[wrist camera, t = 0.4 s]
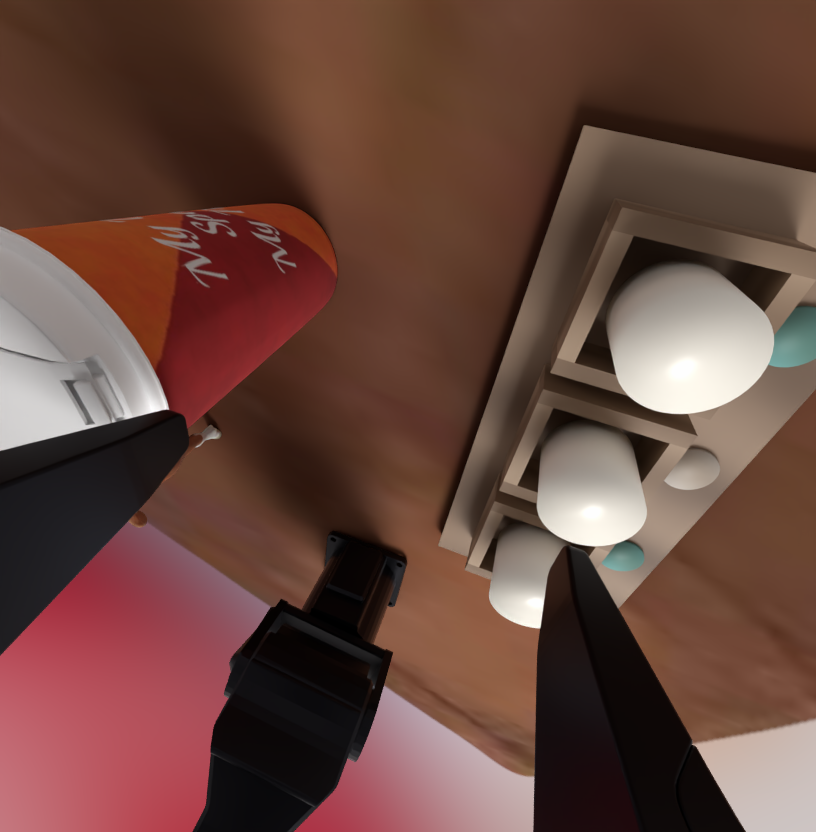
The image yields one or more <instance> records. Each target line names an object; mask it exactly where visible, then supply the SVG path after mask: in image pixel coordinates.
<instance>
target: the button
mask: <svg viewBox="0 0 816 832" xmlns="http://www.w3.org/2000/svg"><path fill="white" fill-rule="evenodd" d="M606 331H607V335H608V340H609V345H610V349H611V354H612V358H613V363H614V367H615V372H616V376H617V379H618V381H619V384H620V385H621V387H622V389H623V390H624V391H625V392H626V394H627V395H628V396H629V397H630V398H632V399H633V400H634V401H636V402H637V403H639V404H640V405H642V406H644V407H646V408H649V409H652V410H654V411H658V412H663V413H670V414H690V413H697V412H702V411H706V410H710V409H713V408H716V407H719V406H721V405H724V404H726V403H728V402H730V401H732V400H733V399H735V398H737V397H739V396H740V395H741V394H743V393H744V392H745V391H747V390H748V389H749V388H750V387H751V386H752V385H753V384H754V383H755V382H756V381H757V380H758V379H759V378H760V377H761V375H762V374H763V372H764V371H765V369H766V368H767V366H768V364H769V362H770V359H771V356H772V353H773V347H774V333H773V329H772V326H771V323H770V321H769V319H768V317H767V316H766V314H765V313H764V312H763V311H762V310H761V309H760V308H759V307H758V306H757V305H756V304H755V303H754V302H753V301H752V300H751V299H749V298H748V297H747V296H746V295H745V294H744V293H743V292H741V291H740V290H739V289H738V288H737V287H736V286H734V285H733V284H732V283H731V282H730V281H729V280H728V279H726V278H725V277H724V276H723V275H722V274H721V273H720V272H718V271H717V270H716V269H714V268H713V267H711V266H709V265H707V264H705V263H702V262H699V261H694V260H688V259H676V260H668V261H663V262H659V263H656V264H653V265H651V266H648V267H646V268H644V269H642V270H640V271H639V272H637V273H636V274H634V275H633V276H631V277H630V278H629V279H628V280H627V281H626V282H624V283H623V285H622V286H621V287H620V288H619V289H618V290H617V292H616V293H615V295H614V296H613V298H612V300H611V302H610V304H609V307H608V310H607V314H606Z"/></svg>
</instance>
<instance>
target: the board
mask: <svg viewBox="0 0 816 832" xmlns="http://www.w3.org/2000/svg"><path fill="white" fill-rule="evenodd" d="M676 259H688V260H694V261H699V262H702V263H705V264H707V265H709V266H711V267H713V268H714V269H716V270H717V271H718V272H720V273H721V274H722V275H723V276H724V277H725V278H726V279H728V280H729V281H730V282H731V283H732V284H733V285H734V286H736V287H737V288H738V289H739V290H740V291H741V292H743V293H744V294H745V295H746V296H747V297H748V298H749V299H751V300H752V301H753V302H754V303H755V304H756V305H757V306H758V307H759V308H760V309H761V310H762V311H763V312H764V313H765V314H766V316H767V317H768V319H769V321H770V323H771V326H772V329H773V333H774V347H773V353H772V356H771V359H770V362H769V364H768V366H767V368H766V369H765V371H764V372H763V374H762V375H761V377H760V378H759V379H758V380H757V381H756V382H755V383H754V384H753V385H752V386H751V387H750V388H749V389H748V390H747V391H745V392H744V393H743V394H741V395H740V396H739V397H737V398H735V399H733V400H732V401H730V402H728V403H726V404H724V405H721V406H719V407H716V408H713V409H710V410H706V411H702V412H697V413H690V414H670V413H663V412H658V411H654V410H652V409H649V408H646V407H644V406H642V405H640V404H639V403H637V402H636V401H634V400H633V399H632V398H630V397H629V396H628V395H627V394H626V392H625V391H624V390H623V389H622V387H621V385H620V384H619V381H618V379H617V376H616V372H615V367H614V363H613V358H612V354H611V349H610V345H609V340H608V335H607V331H606V314H607V310H608V307H609V304H610V302H611V300H612V298H613V296H614V295H615V293H616V292H617V290H618V289H619V288H620V287H621V286H622V285H623V283H624V282H626V281H627V280H628V279H629V278H630V277H631V276H633V275H634V274H636V273H637V272H639V271H640V270H642V269H644V268H646V267H648V266H651V265H653V264H656V263H659V262H663V261H668V260H676ZM815 389H816V173H813V172H808V171H804V170H799V169H794V168H789V167H784V166H779V165H775V164H770V163H765V162H760V161H755V160H751V159H746V158H741V157H736V156H731V155H726V154H722V153H717V152H712V151H707V150H702V149H697V148H693V147H688V146H683V145H678V144H673V143H669V142H664V141H659V140H654V139H649V138H644V137H640V136H635V135H630V134H625V133H620V132H615V131H611V130H606V129H601V128H596V127H591V126H586V125H584V126H583V128H582V131H581V134H580V137H579V139H578V142H577V145H576V148H575V151H574V154H573V157H572V160H571V163H570V165H569V168H568V171H567V174H566V177H565V180H564V183H563V186H562V189H561V191H560V194H559V197H558V200H557V203H556V206H555V209H554V212H553V215H552V217H551V220H550V223H549V226H548V229H547V232H546V235H545V238H544V240H543V243H542V246H541V249H540V252H539V255H538V258H537V261H536V264H535V266H534V269H533V272H532V275H531V278H530V281H529V284H528V287H527V290H526V292H525V295H524V298H523V301H522V304H521V307H520V310H519V313H518V315H517V318H516V321H515V324H514V327H513V330H512V333H511V336H510V339H509V341H508V344H507V347H506V350H505V353H504V356H503V359H502V362H501V365H500V367H499V370H498V373H497V376H496V379H495V382H494V385H493V388H492V390H491V393H490V396H489V399H488V402H487V405H486V408H485V411H484V414H483V416H482V419H481V422H480V425H479V428H478V431H477V434H476V437H475V440H474V442H473V445H472V448H471V451H470V454H469V457H468V460H467V463H466V466H465V468H464V471H463V474H462V477H461V480H460V483H459V486H458V489H457V491H456V494H455V497H454V500H453V503H452V506H451V509H450V512H449V515H448V517H447V520H446V523H445V526H444V529H443V532H442V535H441V538H440V541H439V544H438V546H440V547H443V548H446V549H448V550H451V551H454V552H456V553H459V554H462V555H464V556H467V557H468V558H467V562H466V567H465V570H466V571H469V572H471V573H474V574H477V575H479V576H482V577H485V578H487V579H490V580H491V578H492V572H493V566H494V560H495V554H496V548H497V542H498V537H499V534H500V532H501V531H502V530H503V529H504V528H505V527H507V526H508V525H510V524H513V523H516V522H521V521H523V522H526V523H528V524H531V525H534V526H537V527H540V528H543V529H545V530H548V531H550V530H549V529H548V528H547V527H546V526H545V525H544V524H543V523H542V521H541V519H540V517H539V515H538V511H537V496H538V483H539V469H540V456H541V448H542V444H543V442H544V440H545V439H546V437H547V436H548V435H549V434H550V433H551V432H552V431H553V430H554V429H556V428H557V427H559V426H561V425H563V424H566V423H569V422H572V421H577V420H595V421H598V422H601V423H605V424H608V425H611V426H614V427H616V428H618V429H619V430H621V431H622V432H623V433H624V434H625V435H626V436H627V437H628V438H629V440H630V441H631V443H632V446H633V449H634V453H635V458H636V462H637V467H638V471H639V476H640V480H641V485H642V489H643V494H644V498H645V503H646V508H647V516H646V520H645V522H644V524H643V526H642V527H641V529H640V530H639V531H638V532H637V533H636V534H635V535H633V536H632V537H630V538H628V539H627V540H624V541H622V542H619V543H616V544H612V545H606V546H586V545H580V544H575V543H572V542H570V544H571V546H572V547H575V548H578V549H581V550H583V551H585V552H586V553H587V554H588V556H589V558H590V559H591V561H592V563H593V565H594V566H595V568H596V570H597V572H598V574H599V575H600V577H601V579H602V581H603V582H604V584H605V586H606V588H607V590H608V591H609V593H610V595H611V597H612V598H613V600H614V602H615V604H616V606H617V607H618V608H619V607H620V606H621V605H622V604H623V603H624V602H625V600H626V599H627V598H628V597H629V596H630V595H631V594H632V593H633V592H634V590H635V589H636V588H637V587H638V586H639V585H640V584H641V583H642V582H643V580H644V579H645V578H646V577H647V576H648V575H649V574H650V573H651V572H652V570H653V569H654V568H655V567H656V566H657V565H658V564H659V563H660V562H661V560H662V559H663V558H664V557H665V556H666V555H667V554H668V553H669V552H670V550H671V549H672V548H673V547H674V546H675V545H676V544H677V543H678V542H679V540H680V539H681V538H682V537H683V536H684V535H685V534H686V533H687V532H688V530H689V529H690V528H691V527H692V526H693V525H694V524H695V523H696V522H697V520H698V519H699V518H700V517H701V516H702V515H703V514H704V513H705V512H706V510H707V509H708V508H709V507H710V506H711V505H712V504H713V503H714V502H715V500H716V499H717V498H718V497H719V496H720V495H721V494H722V493H723V492H724V490H725V489H726V488H727V487H728V486H729V485H730V484H731V483H732V482H733V480H734V479H735V478H736V477H737V476H738V475H739V474H740V473H741V472H742V470H743V469H744V468H745V467H746V466H747V465H748V464H749V463H750V462H751V460H752V459H753V458H754V457H755V456H756V455H757V454H758V453H759V452H760V450H761V449H762V448H763V447H764V446H765V445H766V444H767V443H768V442H769V440H770V439H771V438H772V437H773V436H774V435H775V434H776V433H777V432H778V430H779V429H780V428H781V427H782V426H783V425H784V424H785V423H786V421H787V420H788V419H789V418H790V417H791V416H792V415H793V414H794V413H795V411H796V410H797V409H798V408H799V407H800V406H801V405H802V404H803V403H804V401H805V400H806V399H807V398H808V397H809V396H810V395H811V394H812V393H813V391H814V390H815Z"/></svg>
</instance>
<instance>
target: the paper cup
mask: <svg viewBox="0 0 816 832" xmlns="http://www.w3.org/2000/svg"><path fill="white" fill-rule="evenodd" d="M337 276H338V268H337V260H336V256H335V252H334V249H333V247H332V244H331V242H330V240H329V238H328V236H327V235H326V233H325V232H324V230H323V229H322V228H321V226H320V225H319V224H318V223H317V222H316V221H315V220H314V219H313V218H312V217H311V216H309V215H308V214H307V213H305V212H304V211H302V210H300V209H298V208H296V207H293V206H290V205H286V204H279V203H268V204H253V205H242V206H232V207H222V208H212V209H202V210H193V211H183V212H174V213H165V214H155V215H146V216H137V217H128V218H119V219H110V220H101V221H92V222H83V223H73V224H64V225H55V226H46V227H36V228H27V229H18V230H7V229H5V228H3V227H0V451H1V450H5V449H9V448H13V447H17V446H21V445H25V444H29V443H33V442H37V441H41V440H45V439H49V438H53V437H57V436H61V435H65V434H69V433H73V432H77V431H81V430H85V429H89V428H93V427H97V426H101V425H105V424H109V423H113V422H117V421H121V420H125V419H129V418H133V417H137V416H141V415H145V414H149V413H153V412H157V411H161V410H166V409H167V410H172V411H175V412H178V413H181V414H182V415H184V417H185V419H186V423H187V429H188V428H189V427H190V426H191V425H192V424H194V423H195V422H196V421H197V420H198V419H199V418H200V417H202V416H203V415H204V414H205V413H206V412H207V411H208V410H209V409H211V408H212V407H213V406H214V405H215V404H216V403H217V402H219V401H220V400H221V399H222V398H223V397H224V396H225V395H226V394H228V393H229V392H230V391H231V390H232V389H233V388H234V387H236V386H237V385H238V384H239V383H240V382H241V381H242V380H243V379H245V378H246V377H247V376H248V375H249V374H250V373H251V372H253V371H254V370H255V369H256V368H257V367H258V366H259V365H260V364H262V363H263V362H264V361H265V360H266V359H267V358H268V357H269V356H271V355H272V354H273V353H274V352H275V351H276V350H277V349H278V348H280V347H281V346H282V345H283V344H284V343H285V342H286V341H287V340H289V339H290V338H291V337H292V336H293V335H294V334H295V333H296V332H297V331H299V330H300V329H301V328H302V327H303V326H304V325H305V324H306V323H307V322H309V321H310V320H311V319H312V318H313V317H314V316H315V315H316V314H317V313H318V312H319V311H320V310H321V309H322V308H323V307H324V306H325V305H326V304H327V302H328V301H329V300H330V298H331V296H332V295H333V293H334V290H335V287H336V283H337Z"/></svg>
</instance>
